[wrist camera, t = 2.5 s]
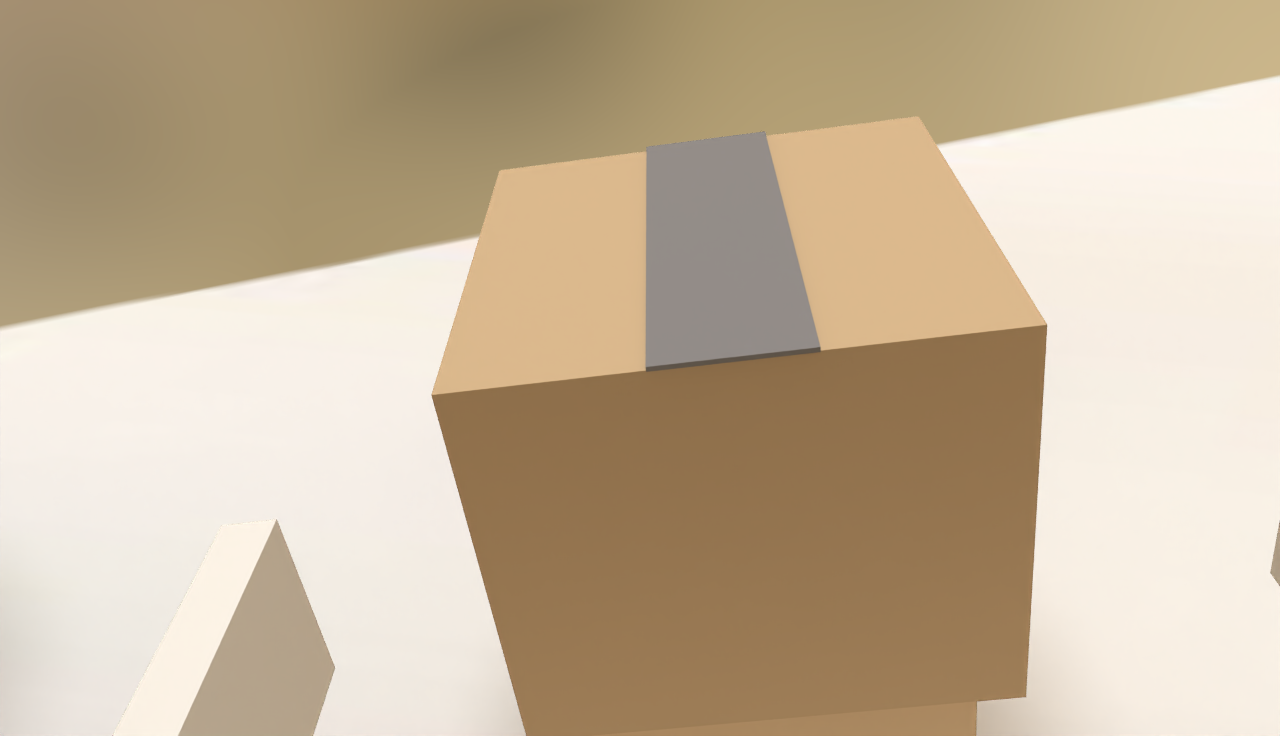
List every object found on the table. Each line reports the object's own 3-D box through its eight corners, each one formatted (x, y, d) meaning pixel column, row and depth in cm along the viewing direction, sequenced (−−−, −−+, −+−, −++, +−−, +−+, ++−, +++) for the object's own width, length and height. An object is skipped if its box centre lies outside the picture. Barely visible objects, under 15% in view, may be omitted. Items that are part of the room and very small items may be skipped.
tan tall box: (616, 911, 29) (487, 389, 21) (623, 652, 37) (531, 196, 28) (972, 883, 28) (986, 332, 20) (903, 625, 36) (892, 150, 28)
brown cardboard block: (527, 743, 24) (429, 391, 20) (560, 453, 33) (499, 166, 29) (1026, 698, 24) (1049, 320, 19) (920, 414, 33) (917, 111, 28)
